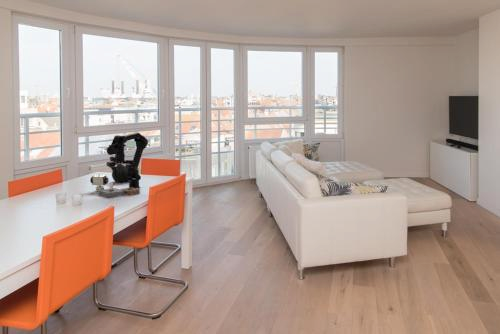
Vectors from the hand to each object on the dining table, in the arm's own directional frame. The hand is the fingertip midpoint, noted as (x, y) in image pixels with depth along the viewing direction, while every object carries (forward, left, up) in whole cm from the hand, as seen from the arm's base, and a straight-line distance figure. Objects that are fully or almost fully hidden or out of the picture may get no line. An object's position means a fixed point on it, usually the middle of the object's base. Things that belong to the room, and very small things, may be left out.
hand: (121, 175), depth 307 cm
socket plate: (+10, +5, -12) cm, 17 cm away
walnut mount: (-1, +10, -12) cm, 16 cm away
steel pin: (+10, +5, -12) cm, 17 cm away
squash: (-18, -33, -12) cm, 40 cm away
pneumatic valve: (+10, -13, -12) cm, 20 cm away
